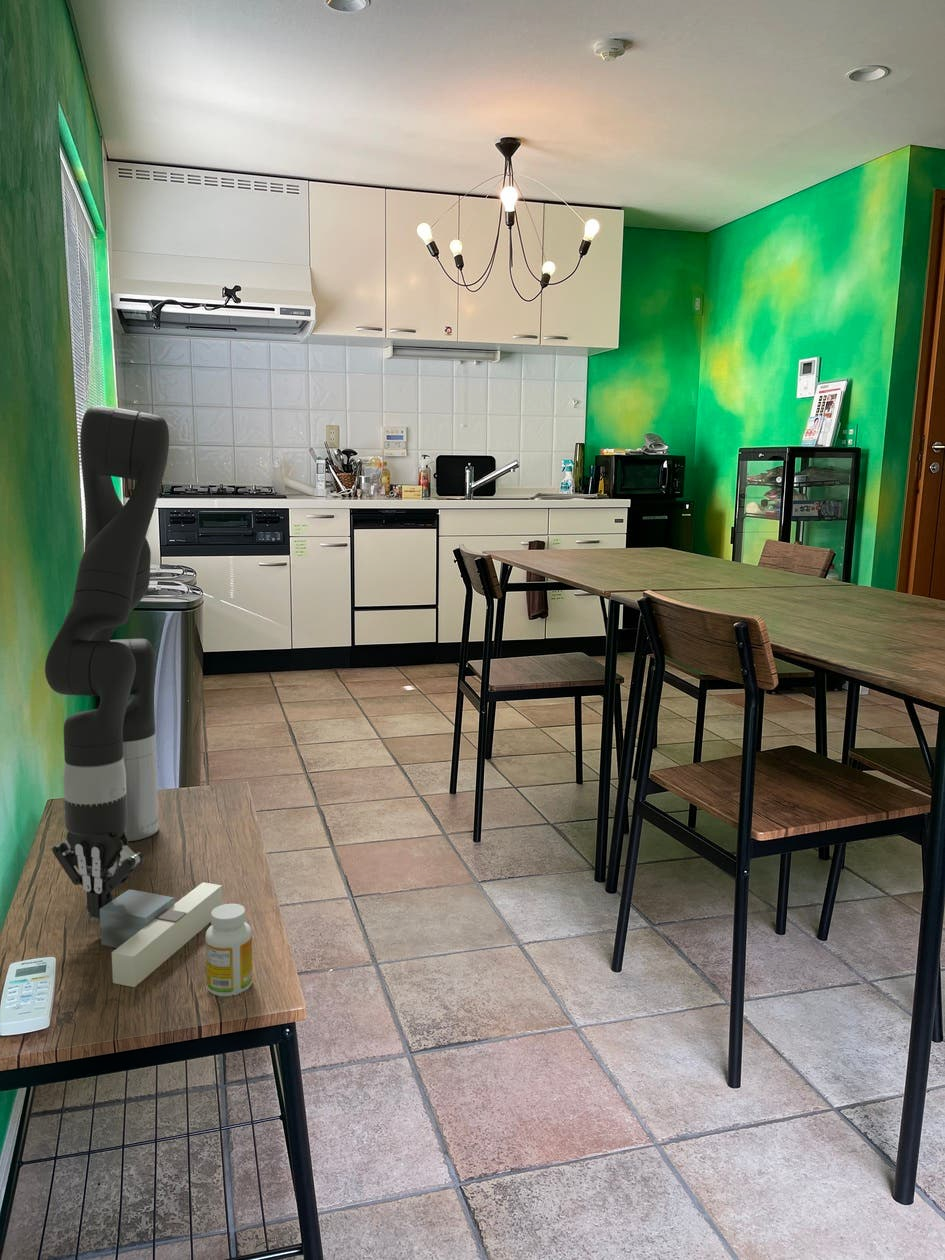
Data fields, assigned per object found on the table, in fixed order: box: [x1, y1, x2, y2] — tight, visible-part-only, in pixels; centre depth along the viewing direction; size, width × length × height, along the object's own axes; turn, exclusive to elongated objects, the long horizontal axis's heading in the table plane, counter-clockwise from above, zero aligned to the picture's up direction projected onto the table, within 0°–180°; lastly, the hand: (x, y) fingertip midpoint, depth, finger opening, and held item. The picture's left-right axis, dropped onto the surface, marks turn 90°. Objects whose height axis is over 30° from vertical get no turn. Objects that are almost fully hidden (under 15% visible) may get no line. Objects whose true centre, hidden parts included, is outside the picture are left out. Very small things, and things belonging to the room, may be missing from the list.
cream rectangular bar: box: [111, 882, 223, 988], centre depth 120 cm, size 3×20×4 cm, turn 164°
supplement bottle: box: [205, 903, 253, 997], centre depth 110 cm, size 5×5×10 cm
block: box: [99, 888, 175, 949], centre depth 121 cm, size 7×6×5 cm
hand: (99, 915), depth 122 cm, fingers closed
